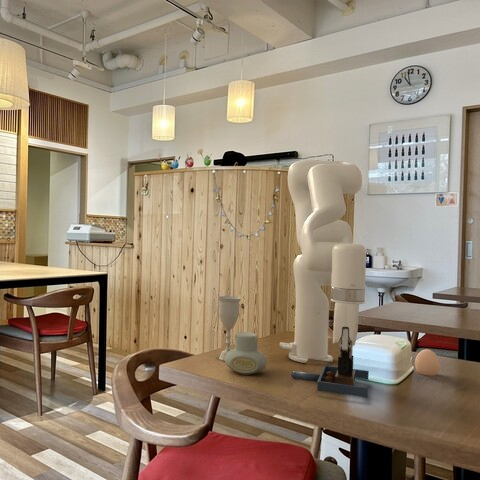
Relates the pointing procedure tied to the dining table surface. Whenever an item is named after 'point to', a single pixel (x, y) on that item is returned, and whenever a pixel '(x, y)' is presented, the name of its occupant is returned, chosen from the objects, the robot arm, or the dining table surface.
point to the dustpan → (334, 386)
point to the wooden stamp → (345, 379)
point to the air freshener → (245, 355)
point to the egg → (427, 363)
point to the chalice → (228, 317)
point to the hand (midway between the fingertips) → (345, 372)
